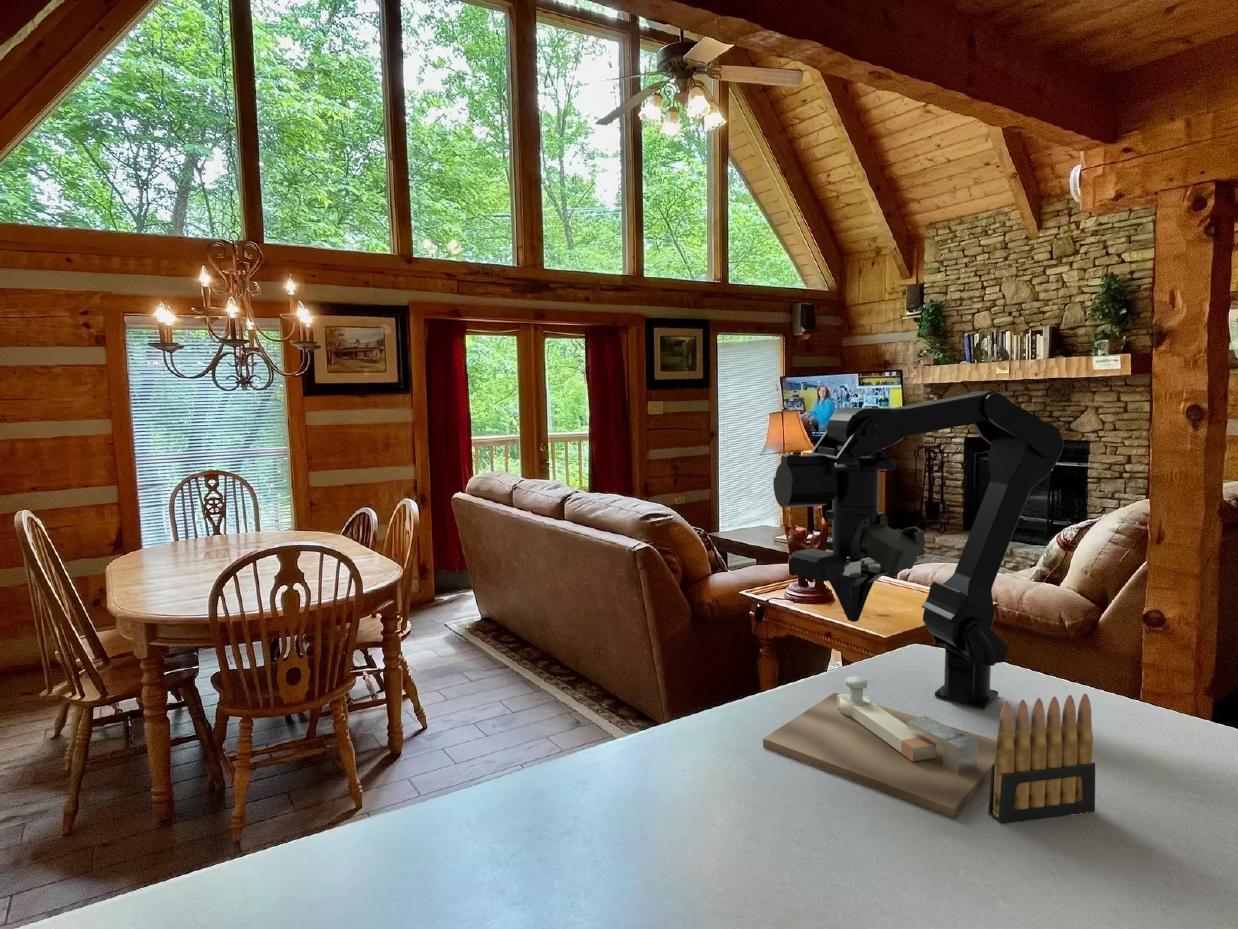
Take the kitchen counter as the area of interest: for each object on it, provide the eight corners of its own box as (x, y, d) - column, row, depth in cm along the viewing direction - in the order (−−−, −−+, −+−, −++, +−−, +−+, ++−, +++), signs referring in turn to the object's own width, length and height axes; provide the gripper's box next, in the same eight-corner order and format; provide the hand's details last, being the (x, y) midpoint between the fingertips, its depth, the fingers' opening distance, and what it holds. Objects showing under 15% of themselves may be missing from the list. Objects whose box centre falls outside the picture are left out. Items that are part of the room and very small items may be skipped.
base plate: (834, 699, 100) (834, 692, 99) (1009, 752, 84) (1009, 744, 84) (763, 746, 87) (763, 738, 86) (954, 818, 71) (954, 809, 71)
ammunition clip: (1080, 801, 74) (1086, 689, 73) (1095, 812, 72) (1101, 696, 71) (987, 813, 72) (991, 698, 71) (1000, 824, 70) (1004, 706, 69)
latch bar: (833, 707, 94) (834, 676, 94) (860, 703, 96) (860, 672, 95) (909, 762, 80) (910, 726, 80) (939, 757, 81) (940, 721, 81)
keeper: (924, 741, 85) (925, 715, 85) (977, 768, 79) (978, 741, 79) (906, 746, 84) (906, 721, 84) (958, 774, 78) (959, 747, 77)
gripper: (857, 520, 82) (854, 653, 84) (955, 505, 92) (951, 624, 94) (786, 508, 92) (785, 627, 93) (882, 495, 102) (879, 603, 103)
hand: (853, 620), depth 96 cm, fingers closed
